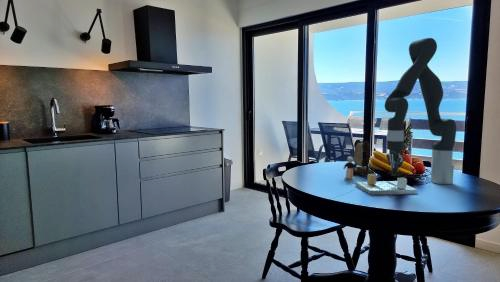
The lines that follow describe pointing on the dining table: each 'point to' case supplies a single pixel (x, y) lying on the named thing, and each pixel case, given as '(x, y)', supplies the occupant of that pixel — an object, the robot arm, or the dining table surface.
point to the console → (384, 188)
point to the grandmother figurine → (349, 168)
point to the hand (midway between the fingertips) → (394, 175)
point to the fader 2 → (401, 183)
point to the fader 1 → (371, 179)
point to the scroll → (358, 157)
